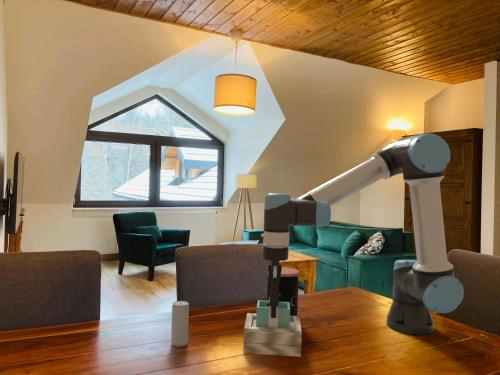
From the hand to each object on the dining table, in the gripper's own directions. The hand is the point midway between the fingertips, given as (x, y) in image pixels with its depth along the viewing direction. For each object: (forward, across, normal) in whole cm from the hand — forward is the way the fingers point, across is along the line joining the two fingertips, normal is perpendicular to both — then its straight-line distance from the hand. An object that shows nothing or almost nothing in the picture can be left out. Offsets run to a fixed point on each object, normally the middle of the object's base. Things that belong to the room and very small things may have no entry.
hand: (272, 323), depth 120 cm
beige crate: (+7, 0, 0) cm, 7 cm away
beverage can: (+7, +3, -27) cm, 28 cm away
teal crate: (0, 0, 0) cm, 0 cm away
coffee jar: (+7, -20, +3) cm, 21 cm away
